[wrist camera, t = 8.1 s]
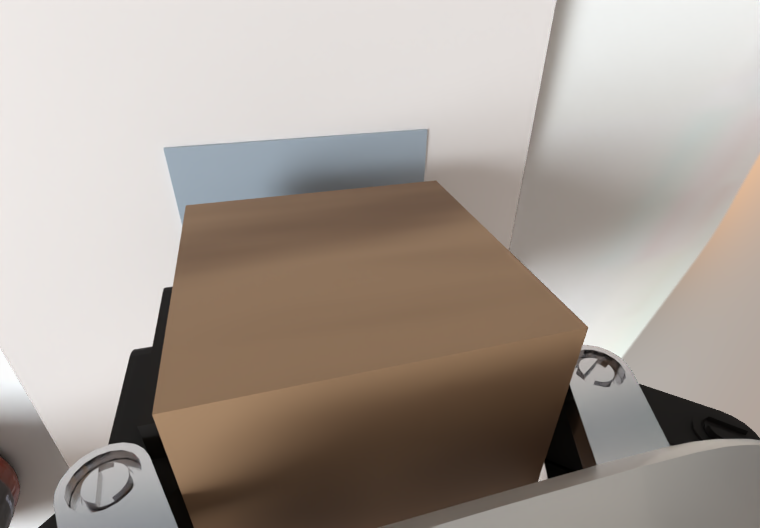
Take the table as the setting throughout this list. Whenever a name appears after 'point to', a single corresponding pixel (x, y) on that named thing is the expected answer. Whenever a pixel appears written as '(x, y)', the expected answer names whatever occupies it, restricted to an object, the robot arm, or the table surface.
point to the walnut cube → (354, 360)
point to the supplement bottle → (7, 493)
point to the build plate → (224, 149)
